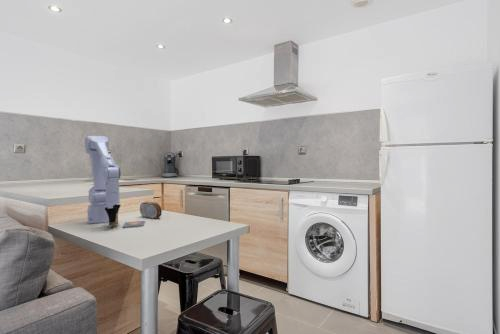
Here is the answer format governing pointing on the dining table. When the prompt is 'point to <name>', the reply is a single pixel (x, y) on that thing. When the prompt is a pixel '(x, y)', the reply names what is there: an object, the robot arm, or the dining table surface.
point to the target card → (133, 224)
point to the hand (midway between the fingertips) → (113, 221)
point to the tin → (150, 210)
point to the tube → (115, 220)
